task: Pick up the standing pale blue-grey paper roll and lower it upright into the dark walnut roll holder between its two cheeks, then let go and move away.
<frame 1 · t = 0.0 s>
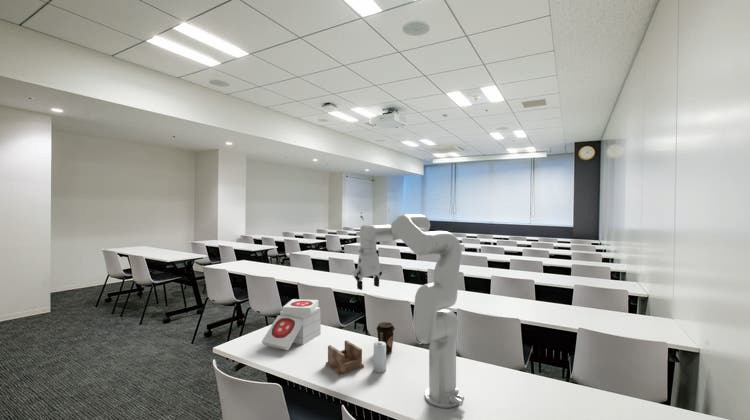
hand: (368, 287, 153), 31 cm above the table, tool pointing down, fingers open, 9 cm apart
coffee cup: (385, 352, 156), on the table
holder: (344, 365, 142), on the table
roll: (379, 369, 138), on the table
pizza box stack: (294, 341, 169), on the table
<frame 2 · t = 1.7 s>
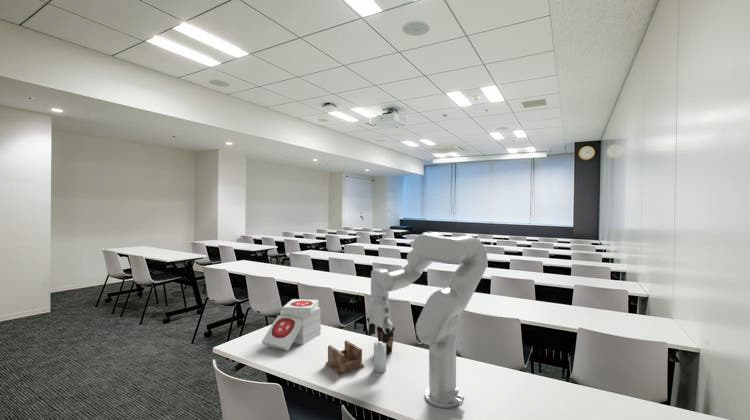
hand: (378, 338, 139), 13 cm above the table, tool pointing down, fingers open, 9 cm apart
nothing on the table moved.
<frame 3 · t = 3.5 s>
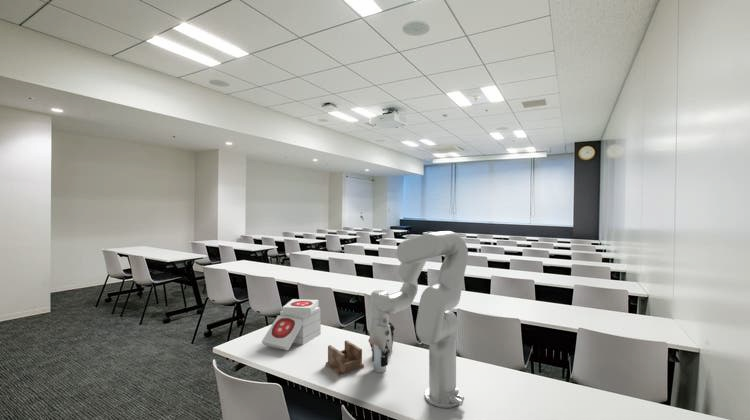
hand: (379, 362, 138), 3 cm above the table, tool pointing down, fingers closed on roll, 5 cm apart
roll: (379, 369, 138), on the table, touching gripper
everything else where it was.
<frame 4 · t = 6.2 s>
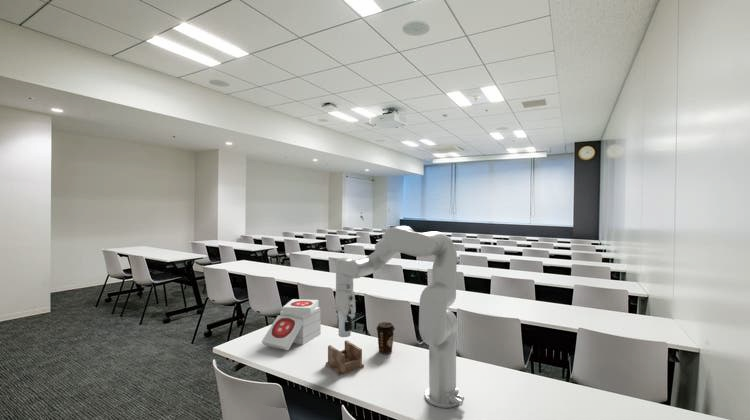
hand: (344, 328, 142), 16 cm above the table, tool pointing down, fingers closed on roll, 5 cm apart
roll: (344, 334, 142), point 13 cm above the table, touching gripper
everything else where it was.
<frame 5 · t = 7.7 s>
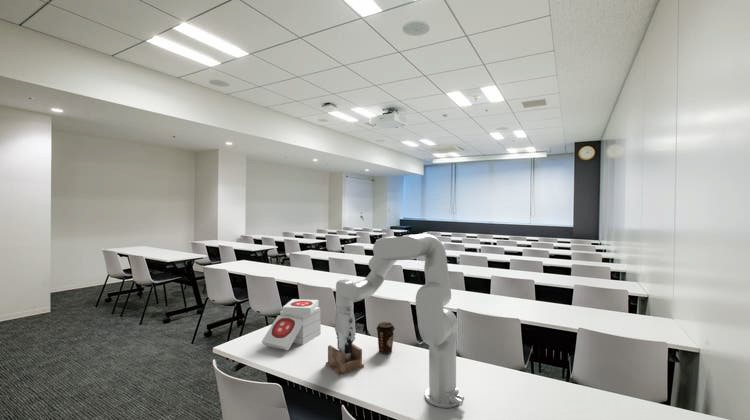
hand: (344, 350, 142), 7 cm above the table, tool pointing down, fingers closed on roll, 5 cm apart
roll: (344, 356, 142), point 4 cm above the table, touching gripper
everything else where it was.
when the fingers open (6 cm above the table, at t = 8.8 s): roll drops 2 cm, resting on holder.
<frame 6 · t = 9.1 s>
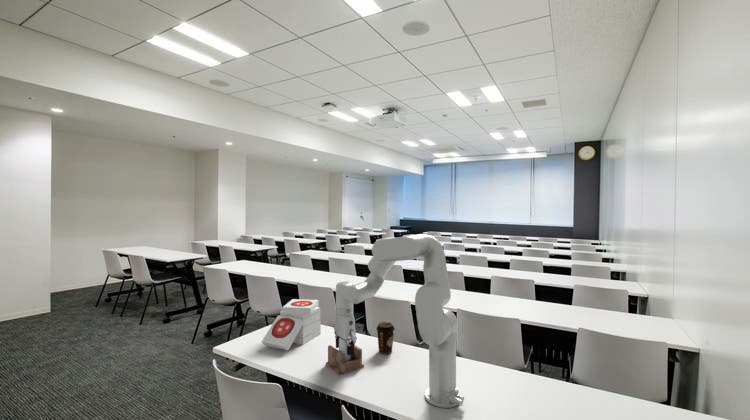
hand: (344, 350, 142), 7 cm above the table, tool pointing down, fingers open, 8 cm apart
roll: (344, 363, 142), point 1 cm above the table, touching holder
everything else where it was.
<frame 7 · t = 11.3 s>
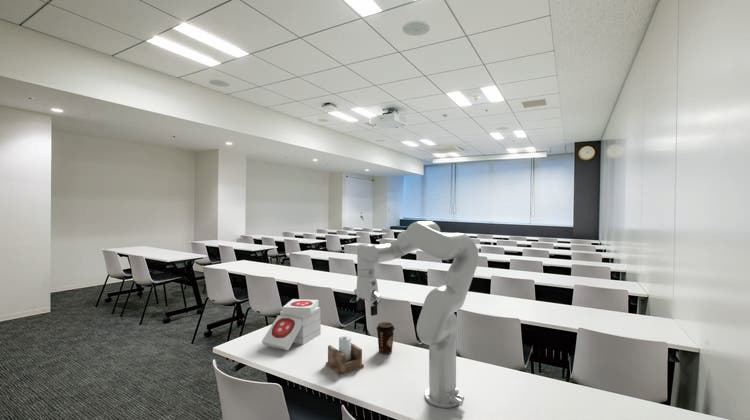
hand: (367, 312, 141), 23 cm above the table, tool pointing down, fingers open, 9 cm apart
nothing on the table moved.
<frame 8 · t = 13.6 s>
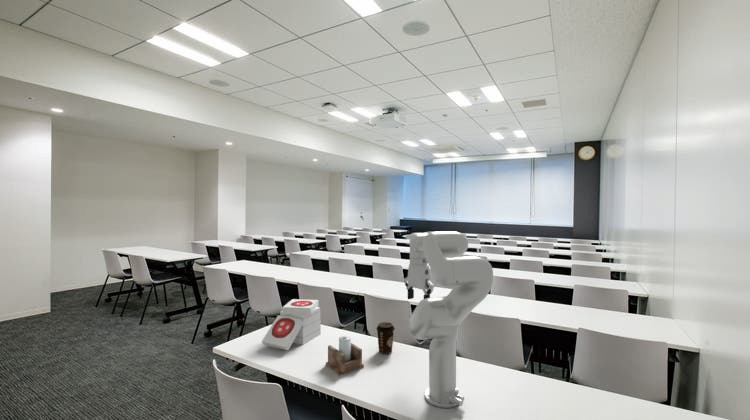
hand: (418, 301, 141), 28 cm above the table, tool pointing down, fingers open, 9 cm apart
nothing on the table moved.
at the end: roll 0.1 cm off-centre on the holder, point 1.0 cm above the holder's base; roll tilted 1°; the gripper is holding nothing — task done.
